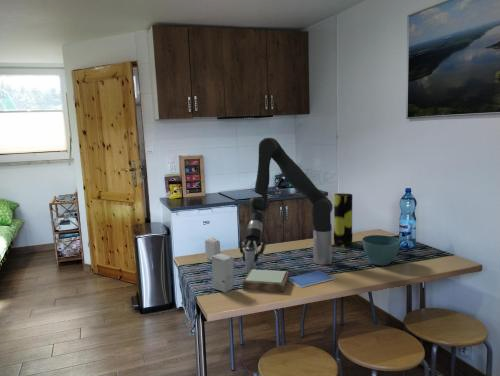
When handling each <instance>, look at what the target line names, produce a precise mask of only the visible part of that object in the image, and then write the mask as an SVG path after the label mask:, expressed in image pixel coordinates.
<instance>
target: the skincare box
mask: <svg viewBox="0 0 500 376" xmlns="http://www.w3.org/2000/svg"><path fill="white" fill-rule="evenodd" d="M211 288H212V289H214V290H217V291H220V292H223V293H226V292H229V291H231V290H233V289H234V257H233V256H230V255H228V254H223V253H220V254H217V255H214V256H212V261H211Z"/></svg>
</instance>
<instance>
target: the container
mask: <svg viewBox="0 0 500 376" xmlns="http://www.w3.org/2000/svg"><path fill="white" fill-rule="evenodd" d="M333 198H334V200H333V203H334V204H333V206H334V207H333V209H334V211H333V214H334V215H333V218H334V219H333V222H334V223H333V245H334V246H336V247H338V248H339V247H340V248H349V247H351V246H352V245H353V194H352V193H347V192H346V193H344V192H342V193H341V192H339V193H334V195H333Z"/></svg>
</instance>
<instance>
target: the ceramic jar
mask: <svg viewBox="0 0 500 376" xmlns="http://www.w3.org/2000/svg"><path fill="white" fill-rule="evenodd" d="M244 249H245V262H244V263H245V265H244V267H245V272H246V273H247V274H248V273H249V272H250V270H251V269H256V270H257V268H256V262H255V261H254V259H255V254H256V251H255V248H254V247H253V246H247V247H246V246H244Z"/></svg>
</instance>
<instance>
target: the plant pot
mask: <svg viewBox="0 0 500 376" xmlns="http://www.w3.org/2000/svg"><path fill="white" fill-rule="evenodd" d="M361 242H362V246H363V247H362V248H363V251H364V253H365V255H366V257H367V259H368V261H370V263H371V264H373V265H376V266H388V265H390V264H391V263H392V261H393V260H394V259H395V257H396V256H397V254H398V252H399V250H400V246H401V245H400V244H401V240H400V239H399V238H397V237H394V236H389V235H383V234H382V235H381V234H373V235H372V234H371V235H367V236H363V237H362V240H361Z"/></svg>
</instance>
